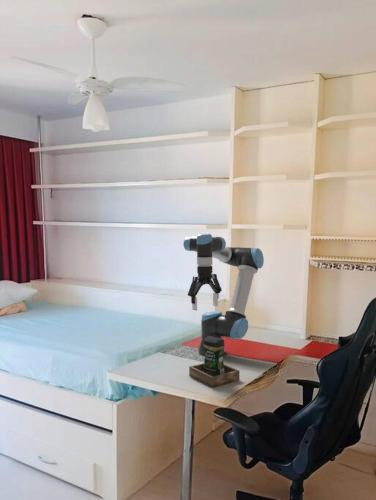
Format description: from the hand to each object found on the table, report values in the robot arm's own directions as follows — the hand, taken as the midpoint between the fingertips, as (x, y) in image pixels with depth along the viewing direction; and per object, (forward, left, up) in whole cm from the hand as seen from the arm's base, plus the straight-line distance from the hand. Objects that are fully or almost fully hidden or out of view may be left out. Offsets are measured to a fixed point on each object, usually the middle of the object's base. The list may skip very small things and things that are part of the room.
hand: (205, 308), depth 201 cm
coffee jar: (+3, +11, -31) cm, 33 cm away
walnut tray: (+3, +11, -31) cm, 33 cm away
